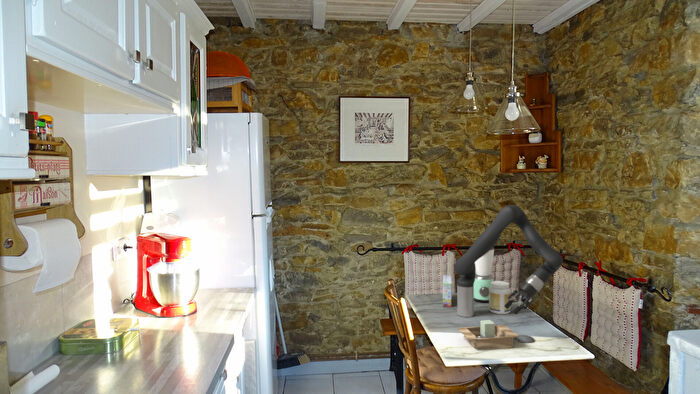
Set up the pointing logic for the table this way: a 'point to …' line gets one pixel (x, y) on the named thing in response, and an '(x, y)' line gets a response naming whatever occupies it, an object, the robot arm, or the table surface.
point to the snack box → (447, 291)
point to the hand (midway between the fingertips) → (509, 310)
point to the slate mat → (524, 339)
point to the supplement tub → (499, 297)
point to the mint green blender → (483, 277)
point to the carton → (501, 341)
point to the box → (487, 329)
